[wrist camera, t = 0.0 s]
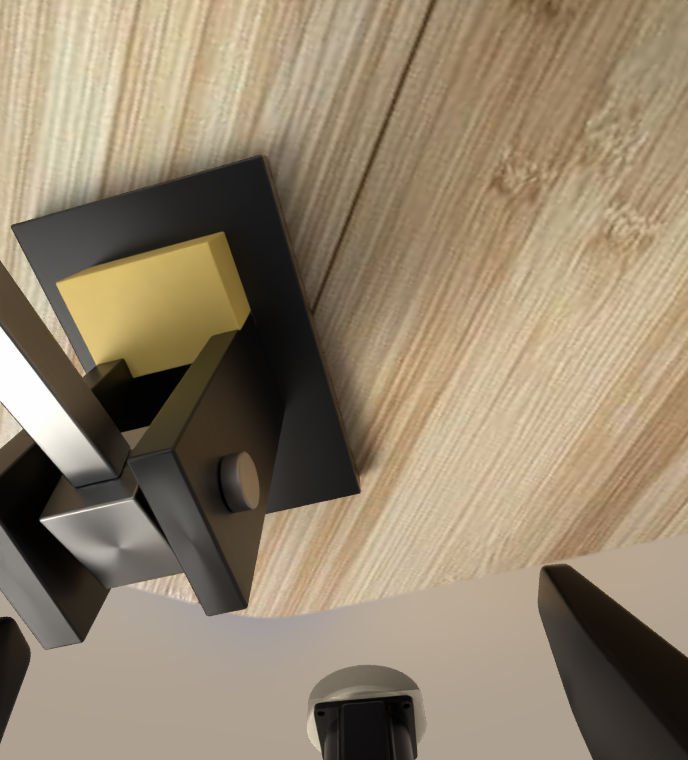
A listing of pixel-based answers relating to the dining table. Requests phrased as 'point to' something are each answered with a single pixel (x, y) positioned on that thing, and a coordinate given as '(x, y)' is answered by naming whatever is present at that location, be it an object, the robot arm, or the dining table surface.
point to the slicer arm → (78, 453)
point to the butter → (158, 304)
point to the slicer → (184, 403)
